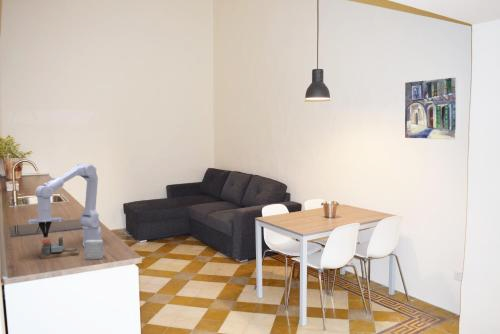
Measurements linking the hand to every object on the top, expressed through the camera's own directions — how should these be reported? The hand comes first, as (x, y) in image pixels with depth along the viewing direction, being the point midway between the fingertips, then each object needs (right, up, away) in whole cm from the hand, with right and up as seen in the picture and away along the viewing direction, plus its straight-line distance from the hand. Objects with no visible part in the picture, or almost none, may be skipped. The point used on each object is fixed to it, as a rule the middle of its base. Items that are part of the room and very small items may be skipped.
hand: (45, 237), depth 201 cm
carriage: (+5, -7, +2) cm, 9 cm away
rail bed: (+6, -9, +3) cm, 11 cm away
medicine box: (+25, -10, -3) cm, 27 cm away
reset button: (0, -3, 0) cm, 3 cm away
